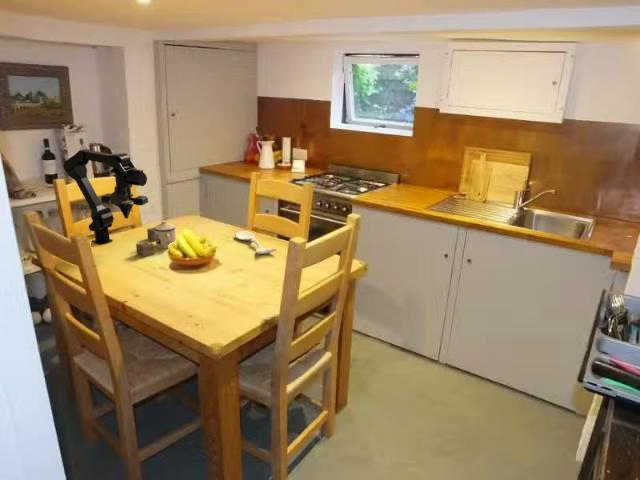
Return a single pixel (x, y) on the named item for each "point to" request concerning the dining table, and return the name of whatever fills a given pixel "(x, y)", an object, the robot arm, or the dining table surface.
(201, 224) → the dining table surface
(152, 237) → the walnut block three dots
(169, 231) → the teacup with lid
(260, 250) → the spoon
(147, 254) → the walnut block two dots
